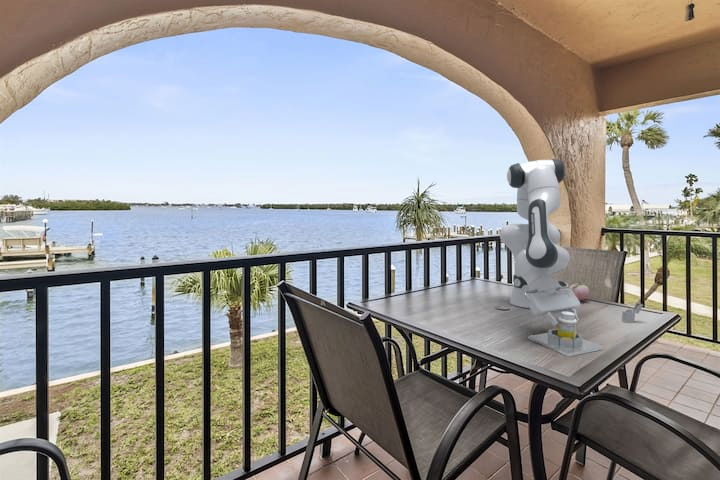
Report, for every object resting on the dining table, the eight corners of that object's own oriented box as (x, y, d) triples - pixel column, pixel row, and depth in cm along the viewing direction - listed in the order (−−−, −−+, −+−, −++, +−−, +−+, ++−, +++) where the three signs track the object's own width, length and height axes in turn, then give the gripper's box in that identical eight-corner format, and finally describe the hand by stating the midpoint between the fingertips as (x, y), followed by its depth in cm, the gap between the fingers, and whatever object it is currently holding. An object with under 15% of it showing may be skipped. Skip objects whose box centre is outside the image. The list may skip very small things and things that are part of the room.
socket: (560, 333, 132) (561, 322, 131) (603, 349, 117) (604, 337, 116) (528, 338, 126) (528, 327, 126) (568, 356, 111) (569, 344, 111)
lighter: (624, 322, 144) (626, 303, 143) (621, 321, 145) (623, 302, 145) (641, 322, 144) (643, 303, 143) (638, 321, 146) (639, 302, 145)
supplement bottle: (564, 337, 124) (565, 309, 123) (579, 343, 119) (581, 314, 118) (553, 340, 122) (555, 311, 121) (568, 346, 117) (570, 316, 116)
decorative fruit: (574, 298, 181) (575, 279, 180) (591, 301, 174) (592, 282, 173) (564, 300, 176) (565, 281, 175) (581, 304, 169) (582, 284, 168)
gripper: (527, 286, 123) (550, 322, 114) (569, 282, 130) (593, 315, 122) (517, 295, 127) (538, 331, 119) (558, 291, 134) (580, 323, 126)
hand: (566, 323), depth 120 cm, fingers open, 8 cm apart
